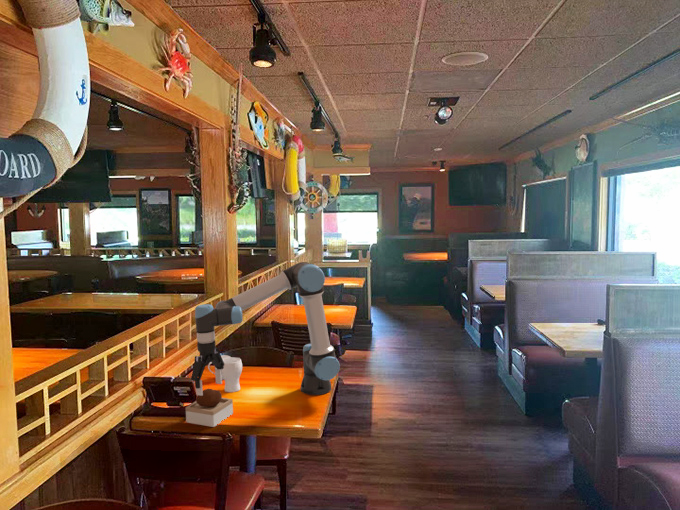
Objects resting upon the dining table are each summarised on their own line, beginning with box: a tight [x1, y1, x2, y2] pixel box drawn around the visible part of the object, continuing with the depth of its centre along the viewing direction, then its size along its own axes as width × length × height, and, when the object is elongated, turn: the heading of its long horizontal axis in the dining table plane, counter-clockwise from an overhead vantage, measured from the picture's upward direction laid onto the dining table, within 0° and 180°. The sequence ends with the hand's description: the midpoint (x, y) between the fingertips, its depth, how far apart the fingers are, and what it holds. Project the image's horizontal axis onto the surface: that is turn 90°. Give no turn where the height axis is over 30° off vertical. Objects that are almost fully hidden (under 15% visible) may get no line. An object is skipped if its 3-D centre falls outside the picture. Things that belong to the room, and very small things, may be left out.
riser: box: [185, 397, 234, 428], centre depth 215 cm, size 14×14×7 cm
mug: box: [207, 354, 232, 381], centre depth 264 cm, size 12×8×11 cm
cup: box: [221, 356, 243, 393], centre depth 248 cm, size 11×11×15 cm
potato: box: [195, 388, 223, 407], centre depth 214 cm, size 8×11×8 cm
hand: (209, 389), depth 214 cm, fingers open, 13 cm apart
